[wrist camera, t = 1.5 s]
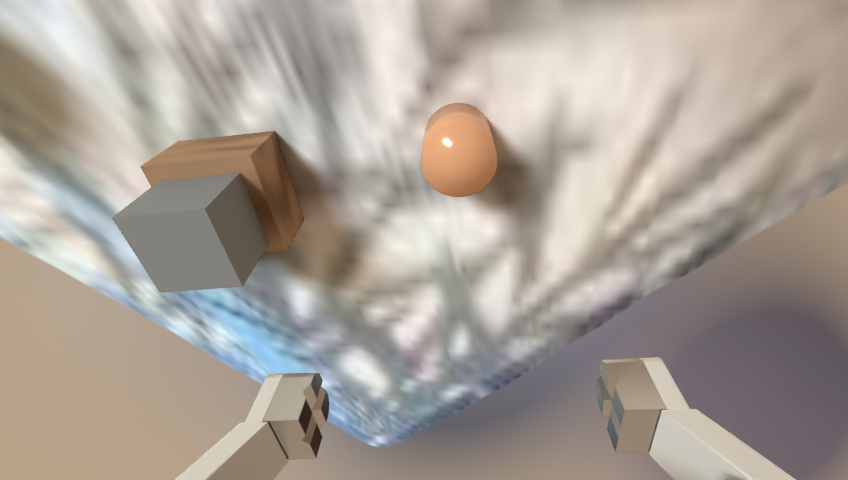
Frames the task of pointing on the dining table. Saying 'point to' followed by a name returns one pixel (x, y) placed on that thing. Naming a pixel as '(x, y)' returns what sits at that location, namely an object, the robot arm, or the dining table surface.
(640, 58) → the dining table surface
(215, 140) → the tower base
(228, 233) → the tower top
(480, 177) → the terracotta cylinder
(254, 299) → the dining table surface
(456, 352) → the dining table surface
